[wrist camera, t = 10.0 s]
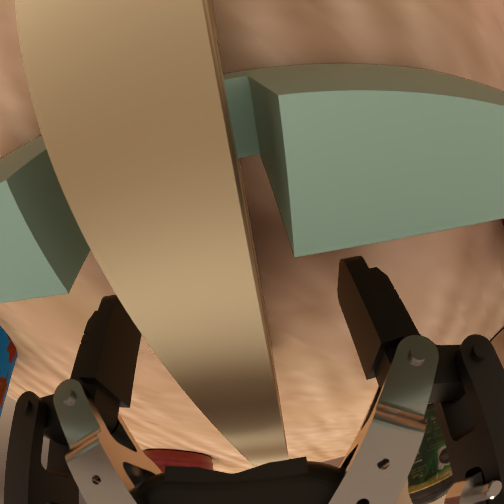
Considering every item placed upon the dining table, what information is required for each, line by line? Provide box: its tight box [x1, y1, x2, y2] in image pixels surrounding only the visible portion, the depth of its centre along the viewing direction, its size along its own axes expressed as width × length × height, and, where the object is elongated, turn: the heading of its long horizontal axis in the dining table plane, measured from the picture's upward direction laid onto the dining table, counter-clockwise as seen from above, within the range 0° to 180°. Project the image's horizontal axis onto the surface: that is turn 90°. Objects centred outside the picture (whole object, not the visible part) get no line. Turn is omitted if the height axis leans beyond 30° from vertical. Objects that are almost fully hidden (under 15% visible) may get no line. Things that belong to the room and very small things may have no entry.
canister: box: [143, 450, 213, 472], centre depth 34 cm, size 13×13×18 cm
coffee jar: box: [408, 405, 454, 504], centre depth 32 cm, size 10×8×19 cm
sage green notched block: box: [0, 63, 504, 303], centre depth 6 cm, size 20×2×8 cm, turn 98°
